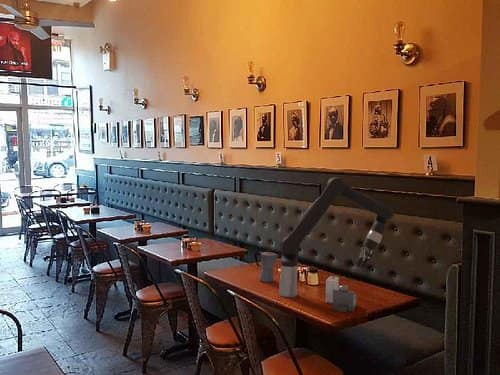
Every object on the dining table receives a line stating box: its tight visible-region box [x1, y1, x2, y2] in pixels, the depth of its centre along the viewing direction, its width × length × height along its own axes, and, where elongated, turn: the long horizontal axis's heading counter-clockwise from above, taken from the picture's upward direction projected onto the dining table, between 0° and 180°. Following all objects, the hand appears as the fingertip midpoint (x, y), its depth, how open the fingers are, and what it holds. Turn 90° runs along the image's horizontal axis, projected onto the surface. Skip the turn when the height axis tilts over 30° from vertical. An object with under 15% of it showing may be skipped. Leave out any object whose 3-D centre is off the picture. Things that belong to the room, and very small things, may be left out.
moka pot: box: [253, 249, 279, 283], centre depth 295 cm, size 10×15×20 cm, turn 81°
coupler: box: [331, 284, 357, 313], centre depth 244 cm, size 10×12×12 cm
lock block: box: [324, 275, 340, 304], centre depth 257 cm, size 5×10×12 cm, turn 159°
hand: (360, 266), depth 256 cm, fingers open, 8 cm apart
